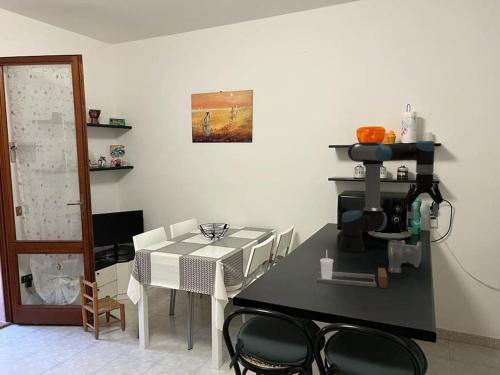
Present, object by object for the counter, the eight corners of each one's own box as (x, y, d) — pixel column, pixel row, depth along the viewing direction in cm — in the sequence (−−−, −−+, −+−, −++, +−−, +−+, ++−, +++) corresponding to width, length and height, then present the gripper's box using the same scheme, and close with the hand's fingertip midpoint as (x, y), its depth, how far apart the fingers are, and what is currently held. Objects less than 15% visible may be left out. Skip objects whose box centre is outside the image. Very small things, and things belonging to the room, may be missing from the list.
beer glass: (401, 269, 184) (402, 240, 182) (402, 274, 178) (403, 244, 176) (387, 268, 186) (387, 239, 185) (387, 272, 180) (388, 243, 178)
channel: (316, 282, 169) (316, 271, 168) (319, 273, 180) (319, 263, 180) (386, 288, 161) (387, 277, 160) (384, 278, 172) (384, 268, 171)
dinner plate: (359, 235, 259) (359, 230, 258) (389, 231, 269) (389, 226, 269) (388, 244, 234) (388, 239, 233) (419, 239, 244) (419, 234, 244)
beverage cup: (325, 281, 169) (325, 252, 168) (317, 277, 175) (317, 249, 174) (335, 279, 172) (336, 250, 170) (328, 275, 177) (328, 247, 176)
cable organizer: (417, 270, 183) (418, 247, 182) (395, 267, 188) (395, 245, 187) (421, 262, 195) (421, 241, 194) (400, 259, 201) (400, 238, 200)
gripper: (406, 174, 167) (405, 220, 169) (452, 173, 172) (450, 217, 174) (396, 173, 174) (395, 217, 176) (441, 172, 179) (439, 214, 182)
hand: (423, 217), depth 175 cm, fingers open, 13 cm apart
